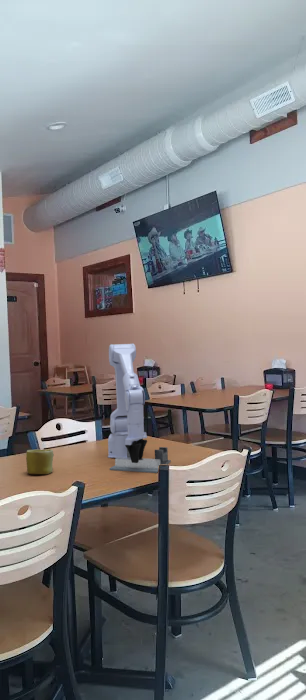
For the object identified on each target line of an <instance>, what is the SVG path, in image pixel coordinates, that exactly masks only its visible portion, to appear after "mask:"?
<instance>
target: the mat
mask: <svg viewBox="0 0 306 700" xmlns="http://www.w3.org/2000/svg"><path fill="white" fill-rule="evenodd" d="M109 471H122V472H137V473H151V474H152V473H154V474H158V473H159V472H158V470H153V469H137V468H120V467H115V465H113V466H111V467H110V468H109ZM157 472H158V473H157Z"/></svg>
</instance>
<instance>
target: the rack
mask: <svg viewBox="0 0 306 700" xmlns="http://www.w3.org/2000/svg"><path fill="white" fill-rule="evenodd" d="M168 450H169V449H168V447H166V446H165V447H164V446H163V447H162V446H159V448H158V449H154V459H160V464H167V465H169V464H170V463H172V461H171V460H170V459H169V457H168V456H169V454H168V452H169V451H168ZM127 458H130V454H129V451H128V449H127Z"/></svg>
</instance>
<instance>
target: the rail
mask: <svg viewBox="0 0 306 700" xmlns="http://www.w3.org/2000/svg"><path fill="white" fill-rule="evenodd" d="M159 465H160V459H155V458H144V457H142V458H139V460H138V463H132V461H131V458H127V457H118V458H115V459H114V466H115V467H120V468H137V469H153V470H158V466H159Z"/></svg>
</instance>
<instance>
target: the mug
mask: <svg viewBox="0 0 306 700" xmlns="http://www.w3.org/2000/svg"><path fill="white" fill-rule="evenodd" d="M54 454H55V453H54V449H51V448H48V449H27V450H26V456H25V457H26V472H27V474H28V475H48V474H51V473H52V472H53V461H54V456H55V455H54Z"/></svg>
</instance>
